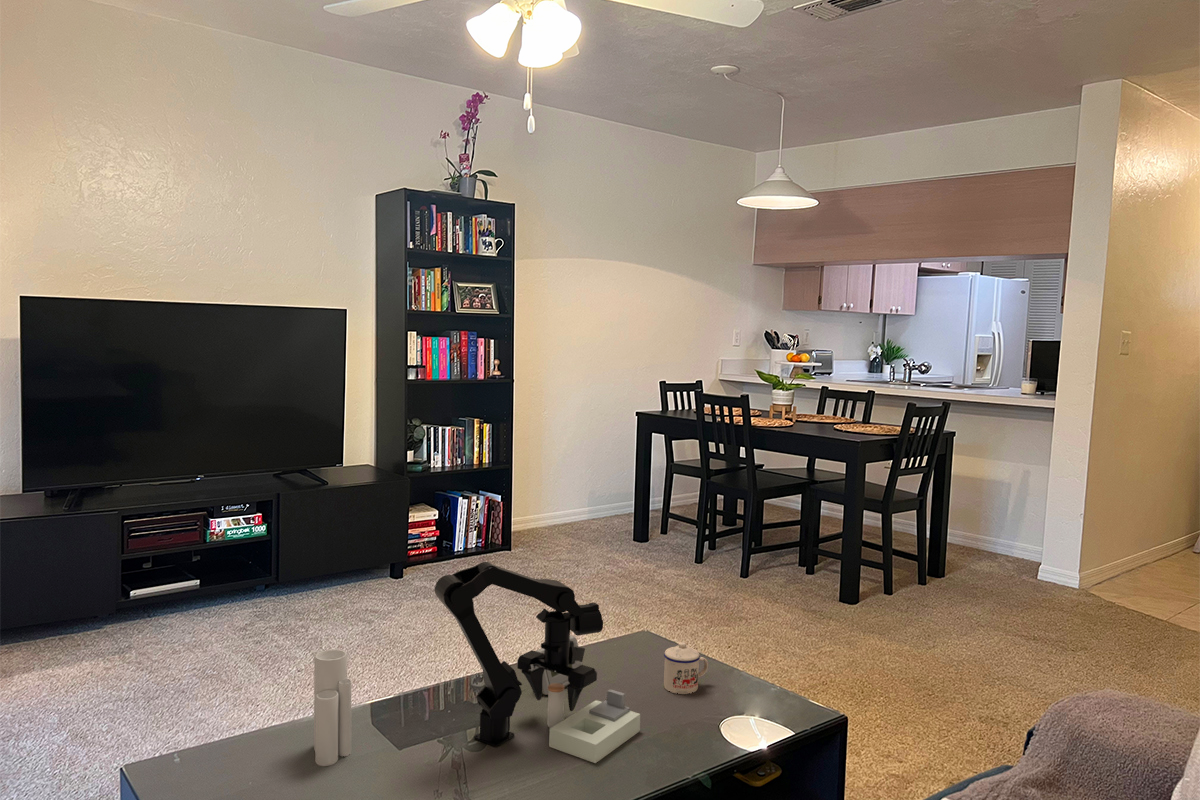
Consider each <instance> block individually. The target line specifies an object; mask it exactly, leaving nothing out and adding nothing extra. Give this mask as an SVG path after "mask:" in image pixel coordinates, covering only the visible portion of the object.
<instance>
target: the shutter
mask: <svg viewBox="0 0 1200 800" xmlns="http://www.w3.org/2000/svg"><path fill="white" fill-rule="evenodd" d="M625 698H626V693H624V692H620V691H618V690H614V689H608V690H607V691H606V699H605V700H603V701H601V702H602V703H600V704H598V705H597V706H595V707H594V708H592V709H590V710H589V714H592V715H595V716H598V717H601V718H605V719H608V720H611V721H616V720H617V719H619V718H620V717H622V716H623V715H625V714H626V713H628V712H629V711H631V710H630V709H631V707H629V706H626V705H625V702H626V701H625V700H626V699H625Z"/></svg>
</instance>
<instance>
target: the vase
mask: <svg viewBox="0 0 1200 800" xmlns="http://www.w3.org/2000/svg"><path fill="white" fill-rule="evenodd" d="M313 658H314V659H313V660H314V661H313V662H314V663H313V667H314V669H313V670H314V671H313V677H314V678H313V680H314V683H313V685H314V686H313V709H314V710H313V749H314V751H315V753H314V754H315V756H314V757H315V759H314V760H315V763H316V764H317V765H318V766H319V767H327V766H328V767H329V766H332V765H334V764H336V763H337V762H338V761H339V757H343V756H344V757H348V756H350V755H351V754H352V680H351V679H350V678H348V652H347V651H346V650H343V649H338V648H337V649H326V650H322V651H318V652H317V653H315V654H314V657H313ZM349 754H350V755H349Z"/></svg>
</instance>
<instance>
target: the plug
mask: <svg viewBox="0 0 1200 800" xmlns="http://www.w3.org/2000/svg"><path fill="white" fill-rule="evenodd" d="M564 705H565V687H564V685H562V684H559V683H554V684H550V685H549V686H548V695H547V722H546V723H547V724H546V725H547V727H548V728H549V729H550V728H552V727H553V726H555V725H556V724H558V723H560V722H561V721H563V720H564V713H565V712H564V711H565V710H564V707H565V706H564Z"/></svg>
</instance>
